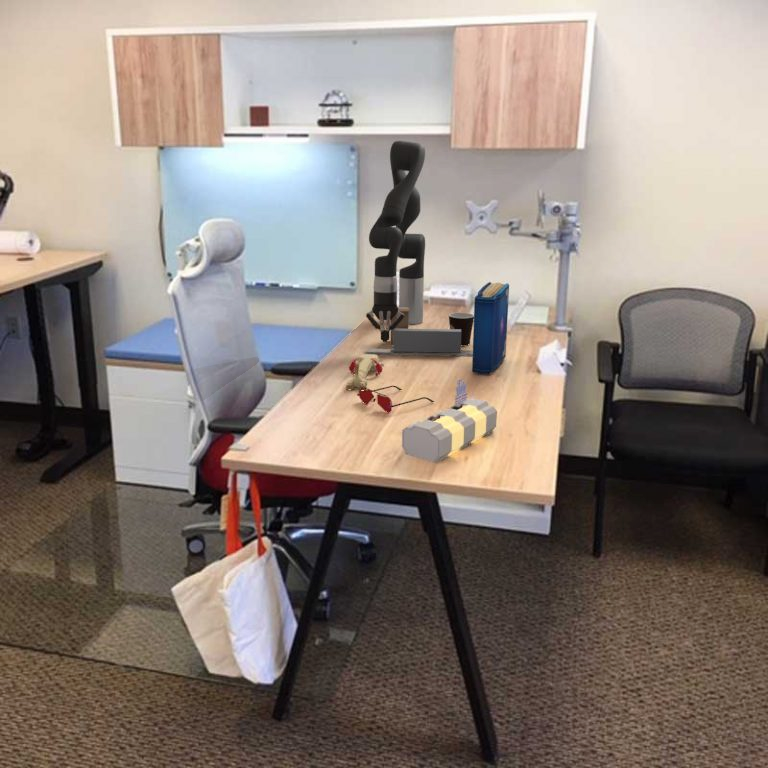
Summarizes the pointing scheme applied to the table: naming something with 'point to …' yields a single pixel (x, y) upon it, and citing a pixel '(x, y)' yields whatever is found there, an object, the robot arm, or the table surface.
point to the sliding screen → (427, 340)
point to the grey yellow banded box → (449, 428)
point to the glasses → (381, 398)
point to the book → (490, 327)
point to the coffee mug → (462, 325)
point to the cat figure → (363, 370)
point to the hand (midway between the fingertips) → (384, 341)
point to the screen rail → (391, 352)
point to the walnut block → (403, 322)
